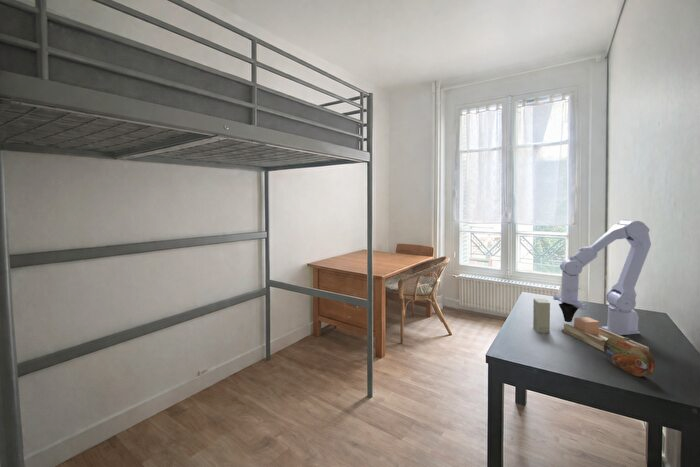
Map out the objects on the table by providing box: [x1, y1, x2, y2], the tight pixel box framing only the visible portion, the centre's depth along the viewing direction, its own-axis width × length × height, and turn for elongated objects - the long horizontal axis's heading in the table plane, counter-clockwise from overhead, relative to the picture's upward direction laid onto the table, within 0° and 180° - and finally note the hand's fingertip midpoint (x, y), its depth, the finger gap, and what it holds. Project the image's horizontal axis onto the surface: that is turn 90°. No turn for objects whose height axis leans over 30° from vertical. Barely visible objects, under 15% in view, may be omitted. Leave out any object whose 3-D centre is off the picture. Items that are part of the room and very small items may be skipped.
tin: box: [603, 338, 656, 377], centre depth 103 cm, size 15×3×8 cm, turn 5°
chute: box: [561, 323, 652, 355], centre depth 122 cm, size 12×24×3 cm, turn 10°
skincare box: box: [532, 298, 551, 334], centre depth 135 cm, size 6×4×12 cm
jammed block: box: [573, 316, 600, 335], centre depth 129 cm, size 6×5×5 cm
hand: (568, 321), depth 138 cm, fingers closed
